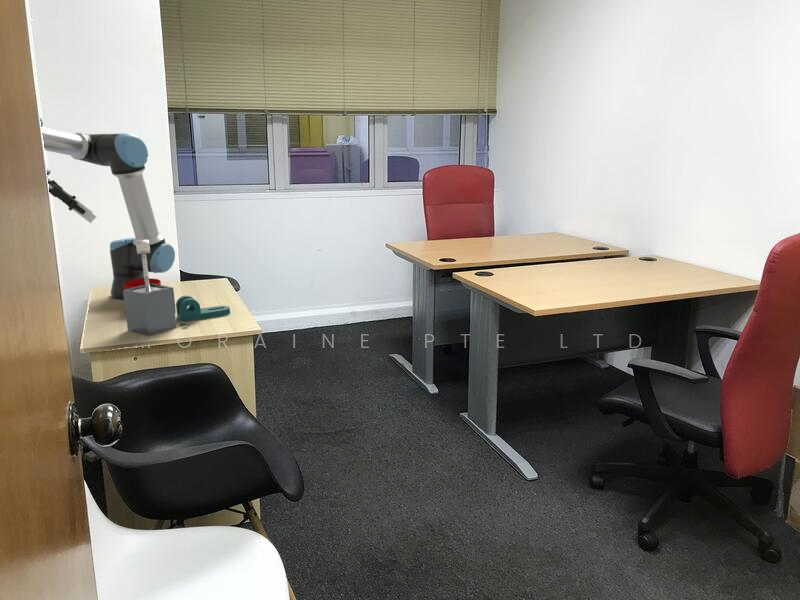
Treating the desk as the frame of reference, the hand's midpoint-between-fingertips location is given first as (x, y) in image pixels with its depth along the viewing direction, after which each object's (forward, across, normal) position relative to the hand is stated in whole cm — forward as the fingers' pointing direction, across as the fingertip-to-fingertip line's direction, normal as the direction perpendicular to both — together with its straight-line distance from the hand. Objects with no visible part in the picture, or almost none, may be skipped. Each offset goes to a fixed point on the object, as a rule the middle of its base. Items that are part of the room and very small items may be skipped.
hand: (91, 217), depth 203 cm
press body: (+37, +7, -16) cm, 41 cm away
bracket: (+50, +2, -4) cm, 50 cm away
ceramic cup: (+39, -20, -14) cm, 46 cm away
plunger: (+27, +8, -8) cm, 29 cm away
